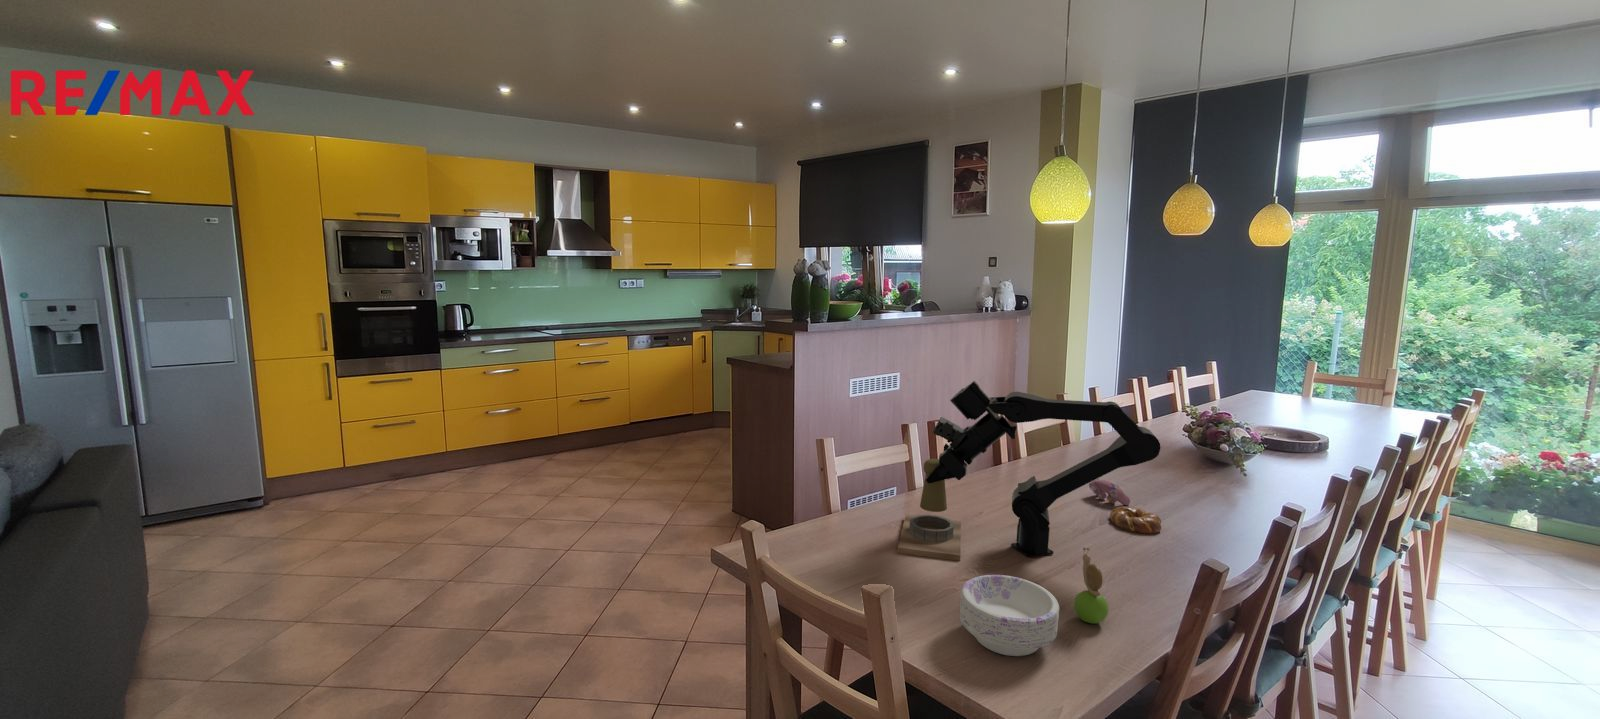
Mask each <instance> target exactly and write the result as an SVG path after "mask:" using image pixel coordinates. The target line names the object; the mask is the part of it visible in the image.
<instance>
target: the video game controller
mask: <svg viewBox="0 0 1600 719" xmlns="http://www.w3.org/2000/svg"><path fill="white" fill-rule="evenodd" d="M1088 486H1089V489H1090V490H1091V491H1092V492H1093V494H1095V495H1096V496H1097V497H1098V499H1100V500H1101V501H1104V500H1105V499H1106V500H1107V502H1109V504H1115V503H1117V502H1118V503H1120V504H1121V505H1122V506H1125V507H1126V506H1127V507H1128V506H1129V505H1130V503H1131V499H1130V497H1129V496H1128V495H1127V494H1126V493H1125V492H1124V490H1123V489H1122V488H1120V486H1119V485H1118V484H1117V485H1116V484H1114V483H1113V482H1111V481H1110V480H1106V479H1101V480H1100V478H1097V479H1095V480H1093V481H1091V482H1089V483H1088Z"/></svg>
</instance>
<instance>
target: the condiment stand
mask: <svg viewBox="0 0 1600 719" xmlns="http://www.w3.org/2000/svg"><path fill="white" fill-rule="evenodd" d="M903 520H904V522H903V525H902V529H901V533H900V537H899V541H898V544H897V553H898V554H905V555H914V556H920V557H927V558H928V557H929V558H935V559H943V560H952V561H959V562H961V553H962V552H961V550H962V549H961V548H962V546H961V543H962V541H961V540H962V520H958V519H950V518H946V517H944V516H940V515H935V514H934V515H933V514H919V515H913V514H905V516H904V519H903Z"/></svg>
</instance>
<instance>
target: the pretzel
mask: <svg viewBox="0 0 1600 719" xmlns="http://www.w3.org/2000/svg"><path fill="white" fill-rule="evenodd" d="M1109 517H1110V518H1109V519H1110V520H1111V522H1112V524H1113V525H1115V526H1117V527H1119V528H1120V529H1122V530H1124V531H1128V532H1134V533H1139V534H1157V533H1159V532H1161V530H1162V525H1161V524H1162V519H1161V518H1160V516H1159V515H1158V514H1156V513H1154V512H1147V511H1146V510H1144V509H1142V508H1140V507H1131V506H1130V507H1129V506H1128V505H1127V506H1126V505H1122V506H1117V507H1115V508H1113V509H1112V510H1111V512H1110V513H1109Z"/></svg>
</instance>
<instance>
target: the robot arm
mask: <svg viewBox="0 0 1600 719" xmlns="http://www.w3.org/2000/svg"><path fill="white" fill-rule="evenodd" d="M949 401H950V403H951V404H952V405H954V407H955V408H956V409H957V410H958V412H960V414H962V415H963V417H965V419H966V420H969V419H970V420H971V421H972V420H973V421H976V420H977V419H978V420H977V421H976V422H975V423H974V424H972V425H968V426H966V427H965V428H962V427H961V426H959V425H958V424H956V423H954V422H953V421H950V420H949V419H947V418H946V417H942V416H941V417H940V418H939V419H938V421H937V423H936V424H935V427H934V428H933V430H932V433H933V435H935V436H938V437H939V436H940V437H941V438H942V439H945V440H946V442H947V443H945V444H944V445H943V451H942V452H941V453H940V454H939V456H938V459H939V464H938V465H937V467H936V468H935V469H934V470H933V471H932V473H931V474H930V475H929V476H928V477H927V479H926V481H927V482H928V483H933V482H937V481H941V480H945V481H946V480H950V479H956V480H958V481H960V480H962V479H963V478H964V477H965V476H967V472H968V466H969V465H971V464H972V463H973V460H975V458H977V457H978V456H979V455H981V454H985V453H986V452H987V451H988V448H989V447H991V446H992V445H993V444H994V443H996V442H997V441H998V440H1000V438H1002V437H1003V436H1005V435H1008V437H1010V438H1011V440H1015V439H1016V431H1017V428H1018V426H1017V424H1019V423H1031V422H1037V421H1042V420H1049V419H1051V420H1062V421H1063V420H1064V421H1078V422H1079V421H1080V422H1094V423H1096V422H1097V423H1098V422H1099V423H1107V424H1108V425H1110V426H1111V427H1112V428H1113V430H1114V431H1116V433H1117V434H1118V435H1119V437H1117V438H1116V439H1115V440H1114V441H1113V442H1112V444H1110V446H1108V447H1107V448H1106V449H1104V450H1102V451H1100V452H1099V453H1096V454H1094V455H1092V456H1091V457H1089V458H1087V459H1085V460H1083V461H1081V462H1079V463H1077V464H1075V465H1073V466H1072V467H1068V469H1065V470H1063V471H1062V472H1059V473H1058V474H1056V475H1054V476H1052V477H1050V478H1048V479H1045V480H1037V478H1036V476H1035V475H1033V476H1031V477H1030V478H1029V479H1027V480H1025V481H1024V482H1018V484H1017V487H1016V488H1015V489H1014V490H1013V492H1012V494H1011V510H1012V512H1013V514H1014V515H1015V516H1016V517H1017V518H1018V524H1017V528H1016V540H1015V541H1016V542H1011V543H1010V546H1011V547H1012V548H1013V549H1015V550H1017V551H1018V552H1020V553H1021V554H1024V555H1025V556H1027V557H1029V558H1036V557H1040V556H1041V557H1043V556H1050V555H1054V551H1053V550H1052V549H1050V548H1049V541H1050V540H1049V538H1050V531H1051V530H1050V529H1051V528H1050V524H1051V522H1050V514H1049V509H1048V508H1049V507H1051V505H1053V504H1054V502H1055V501H1057V500H1058V499H1059V498H1062V497H1064V496H1065V495H1067V494H1069V493H1071V492H1074V491H1076V490H1077V489H1079V488H1081V487H1084V486H1085V485H1087V484H1089V483H1091V482H1092V481H1094V480H1097V479H1100V478H1102V477H1103V476H1105V475H1107V474H1109V473H1111V472H1113V471H1116V470H1117V469H1120V468H1126V467H1131V466H1138V465H1141V464H1144V463H1147V462H1150V461H1152V460H1154V459H1156V458H1158V456H1159V455H1160V451H1161V443H1160V440H1159V439H1158V438H1157V437H1156V436H1155V434H1154V433H1153V431H1152V430H1150V429H1148V428H1147V427H1144V426H1139V425H1138V424H1137V423H1136V422H1135V421H1134V420H1133V419H1132V418H1130V417H1129V415H1128V414H1127V413H1126V412H1125V411H1123V409H1122V408H1121V406H1120V405H1119V404H1118V403H1117V402H1115V401H1105V402H1104V401H1088V400H1087V401H1085V400H1069V399H1068V400H1067V399H1054V398H1052V399H1050V398H1045V397H1040V396H1038V395H1034V394H1030V393H1025V392H1022V391H1021V392H1020V391H1012V392H1010V393H1008V394H1007V395H1006V396H995V397H994V396H993V397H989V396H988V394H987V393H985V392H984V390H983V389H981V387H980V385H979V384H978V383H977V382H976V381H975V380H973V381H972V382H970V384H969V383H968V385H966V386H965V387H963V388H961V389H960V390H959V391H958V392H957V393H955V394H954V396H952V397H951V399H950V400H949ZM986 412H987V413H986ZM985 413H986V414H985ZM983 414H984V415H983ZM982 415H983V416H982ZM981 416H982V417H981ZM980 417H981V418H980ZM979 418H980V419H979ZM1015 423H1016V424H1015Z"/></svg>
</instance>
